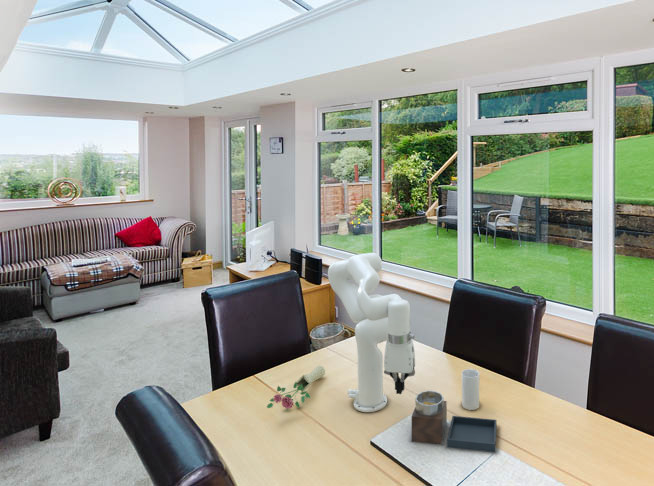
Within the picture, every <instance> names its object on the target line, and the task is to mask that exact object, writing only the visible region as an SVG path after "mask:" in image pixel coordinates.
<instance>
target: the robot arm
mask: <svg viewBox="0 0 654 486" xmlns="http://www.w3.org/2000/svg"><path fill="white" fill-rule="evenodd" d="M382 268H383V260H382V258H381V256H380V255H379V254H378V253H377V252H367V253H359V254H354V255H352V256H350V257H349V258H348V259H342V260H338V261H335V262H333V263H332V264H330V265H329V267H328V269H327V278H328V282H329V285H330V287H331V290H333V292H334V293H335V294H336V295H337V296H338V298H339V300H340V301H341V303H342V305H343V306H344V309H345V310H346V312H347V315H348V316H349V318H350V320H351V321H352V322H353V323H355V324H356V325H355V328H354V337H355V341H356V342H355V343H356V351H357V388H356V389H352V388H348V390H347V396H348V397H347V398H349V399H354V400H353V407H354V409H355V410H356V411H359V412H363V413H374V412H377V411H380V410H382V409H384V408H385V407H386V405H387V404H388V397H387V395H386V394H385V393H384V375H388V376H390V377H391V378H392V380H393V382H394V390H395V391H396V392H395V394H396V395H398V394H399V395H402V394H403V392H404V391H405V380H407V378H408V377H413V376H415V374H416V370H415V367H416V355H415V354H416V353H415V346H414V341H413V340H414V339H415V334H412V331H411V306H410V302H409V301H408V300H407V299H403V298H402V297H401V296H400V295H399V294H397V293H390V294H385V295H381V294H379V293H376V294H371V293H372V292H373V291H375V290H376V289H377V288H378V287H379V284H380V282H381V281H380V280H381V278H380V275H379V272H381V270H382ZM352 280H353V281H354V282H355V283H354V282H351V281H352ZM369 294H370V295H369ZM384 342H385V348H384V355H383V352H382V350H381V349H380V348H379V347H378V344H381V343H384Z"/></svg>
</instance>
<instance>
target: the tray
mask: <svg viewBox="0 0 654 486" xmlns="http://www.w3.org/2000/svg"><path fill="white" fill-rule="evenodd" d="M497 423H498V422H497V419H493V418H483V417H482V418H481V417H470V416H459V415H452V417H451V421H450V426H449V430H448V434H447V439H446V445H447V446H446V447H447V448H449V449H459V450H469V451H476V452H477V451H478V452H488V453H496V450H497V449H496V448H497V446H496V445H497V427H498V426H497V425H498V424H497Z"/></svg>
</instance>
